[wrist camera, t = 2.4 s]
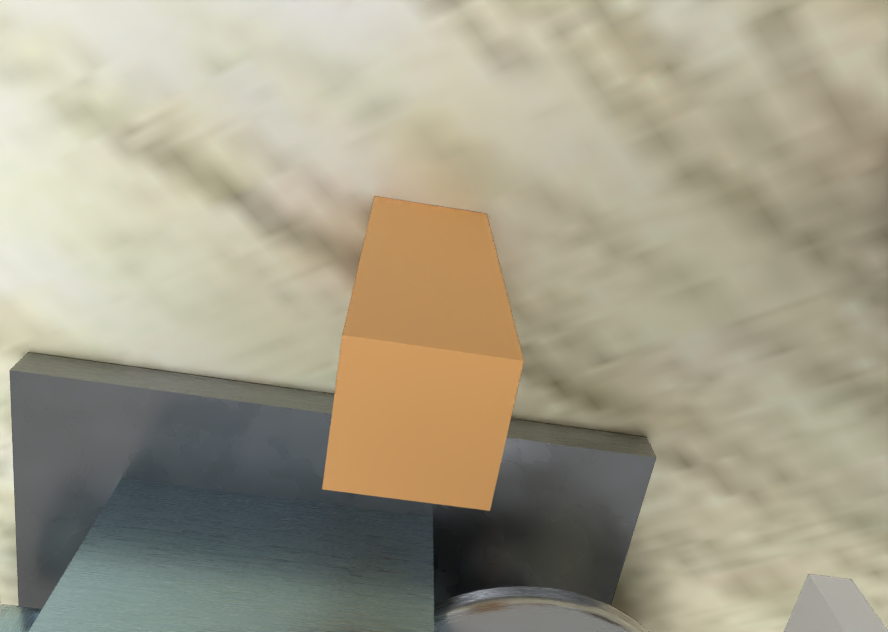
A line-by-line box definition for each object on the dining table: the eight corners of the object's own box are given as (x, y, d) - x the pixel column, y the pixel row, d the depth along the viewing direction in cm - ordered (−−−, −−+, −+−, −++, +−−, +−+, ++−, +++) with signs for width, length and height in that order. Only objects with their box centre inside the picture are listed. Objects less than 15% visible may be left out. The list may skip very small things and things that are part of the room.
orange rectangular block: (486, 213, 29) (523, 361, 18) (466, 316, 31) (490, 511, 20) (374, 196, 29) (341, 335, 18) (360, 300, 30) (322, 489, 19)
